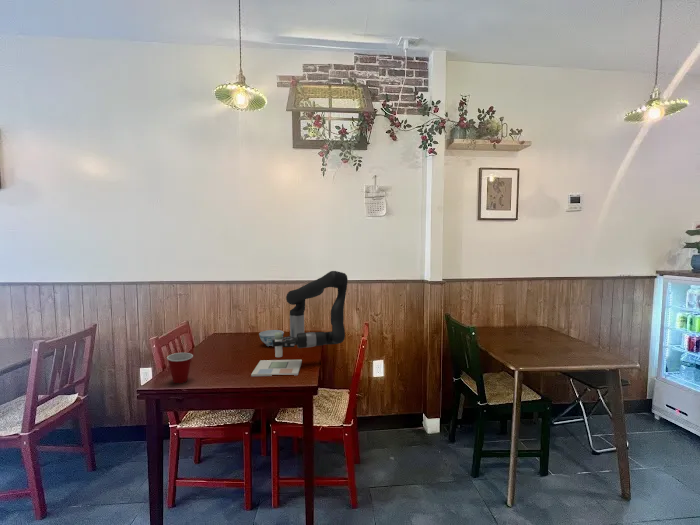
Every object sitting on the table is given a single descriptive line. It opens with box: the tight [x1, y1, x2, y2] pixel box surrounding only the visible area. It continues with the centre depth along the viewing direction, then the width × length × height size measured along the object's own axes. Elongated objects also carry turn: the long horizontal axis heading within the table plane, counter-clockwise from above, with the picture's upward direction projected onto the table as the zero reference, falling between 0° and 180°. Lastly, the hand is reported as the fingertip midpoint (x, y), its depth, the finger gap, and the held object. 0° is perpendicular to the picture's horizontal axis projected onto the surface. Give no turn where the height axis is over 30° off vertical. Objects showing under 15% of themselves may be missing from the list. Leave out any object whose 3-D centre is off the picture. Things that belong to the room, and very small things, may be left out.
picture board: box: [250, 359, 303, 377], centre depth 175 cm, size 20×22×1 cm
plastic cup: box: [166, 352, 194, 384], centre depth 159 cm, size 11×11×12 cm
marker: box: [274, 332, 283, 358], centre depth 176 cm, size 4×4×12 cm
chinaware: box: [258, 329, 285, 347], centre depth 216 cm, size 15×15×8 cm
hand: (272, 343), depth 175 cm, fingers closed on marker, 3 cm apart
